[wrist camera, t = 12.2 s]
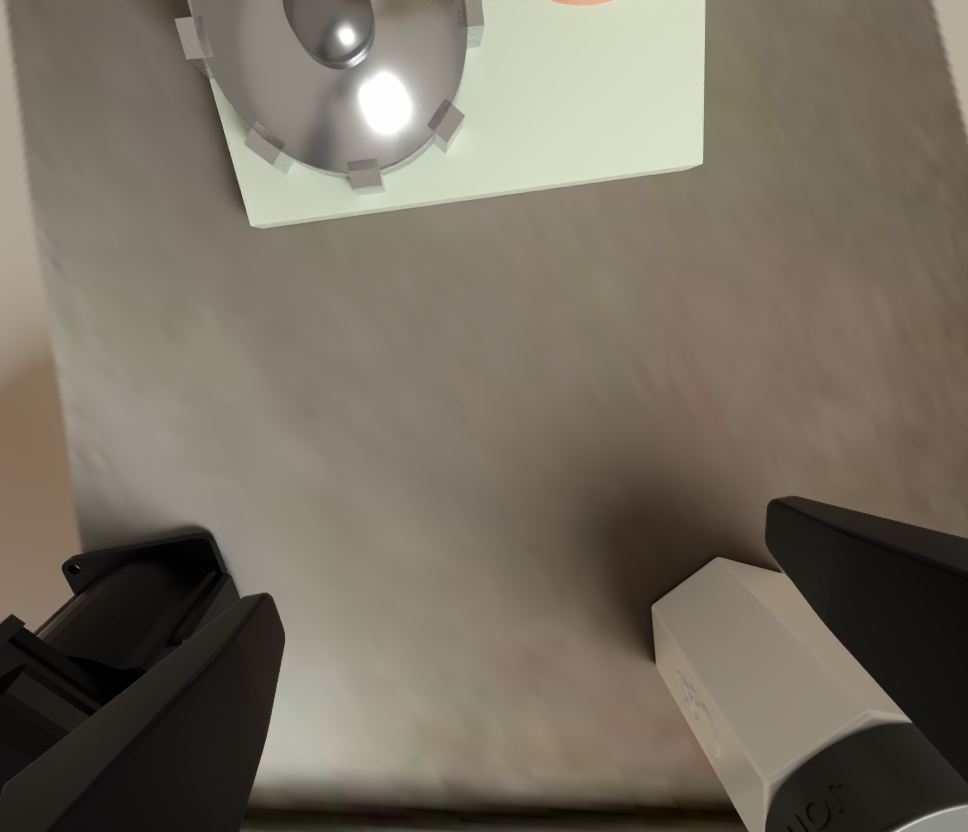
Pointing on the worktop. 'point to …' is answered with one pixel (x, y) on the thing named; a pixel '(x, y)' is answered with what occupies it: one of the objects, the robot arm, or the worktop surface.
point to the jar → (795, 712)
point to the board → (527, 112)
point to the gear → (338, 78)
